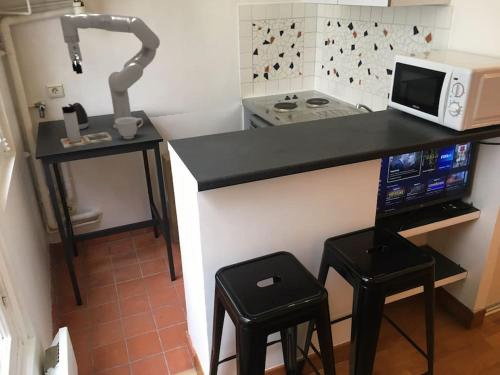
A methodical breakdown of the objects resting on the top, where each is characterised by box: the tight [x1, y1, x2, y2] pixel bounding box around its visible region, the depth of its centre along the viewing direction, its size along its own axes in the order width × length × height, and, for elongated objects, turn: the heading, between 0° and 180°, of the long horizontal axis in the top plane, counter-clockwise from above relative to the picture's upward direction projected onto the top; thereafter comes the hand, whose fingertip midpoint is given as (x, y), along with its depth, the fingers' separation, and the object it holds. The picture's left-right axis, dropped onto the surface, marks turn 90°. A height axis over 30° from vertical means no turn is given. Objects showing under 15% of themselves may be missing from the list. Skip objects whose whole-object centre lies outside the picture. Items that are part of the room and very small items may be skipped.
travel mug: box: [61, 105, 82, 144], centre depth 220 cm, size 6×7×20 cm
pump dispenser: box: [68, 102, 90, 130], centre depth 246 cm, size 10×10×15 cm
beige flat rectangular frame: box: [60, 131, 113, 149], centre depth 227 cm, size 24×12×1 cm, turn 119°
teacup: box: [114, 116, 144, 140], centre depth 229 cm, size 12×15×10 cm
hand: (78, 72), depth 229 cm, fingers open, 9 cm apart
